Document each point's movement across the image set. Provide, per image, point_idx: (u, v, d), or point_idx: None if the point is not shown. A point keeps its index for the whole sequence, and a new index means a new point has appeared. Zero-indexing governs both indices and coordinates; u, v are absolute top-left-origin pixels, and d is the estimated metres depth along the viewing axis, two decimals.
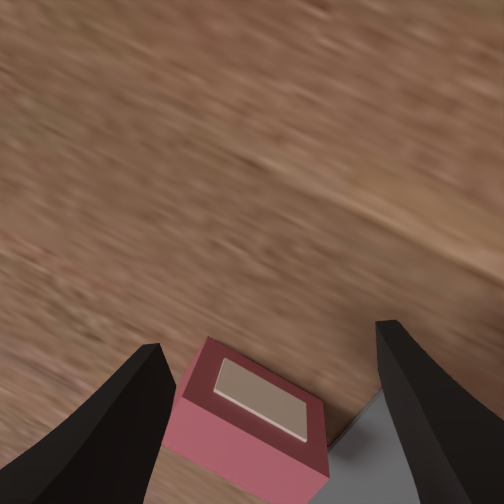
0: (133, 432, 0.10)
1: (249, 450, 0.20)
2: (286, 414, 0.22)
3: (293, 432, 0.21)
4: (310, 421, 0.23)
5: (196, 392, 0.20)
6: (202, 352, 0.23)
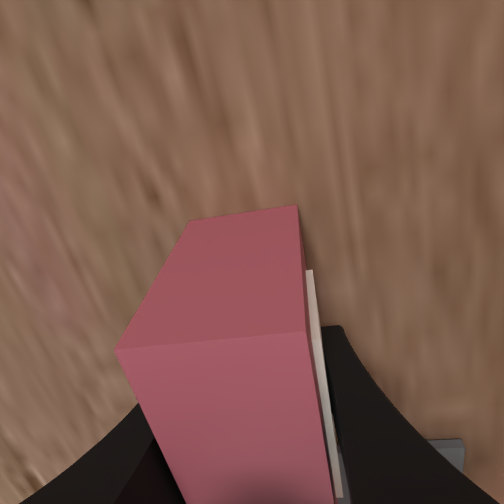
0: None
1: (289, 493, 0.08)
2: (334, 432, 0.11)
3: (338, 476, 0.11)
4: None
5: (308, 331, 0.07)
6: (299, 233, 0.10)
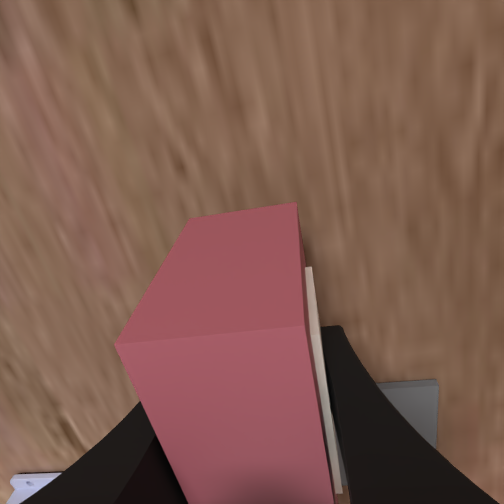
0: None
1: (288, 488, 0.08)
2: None
3: None
4: None
5: (307, 326, 0.07)
6: (298, 230, 0.10)
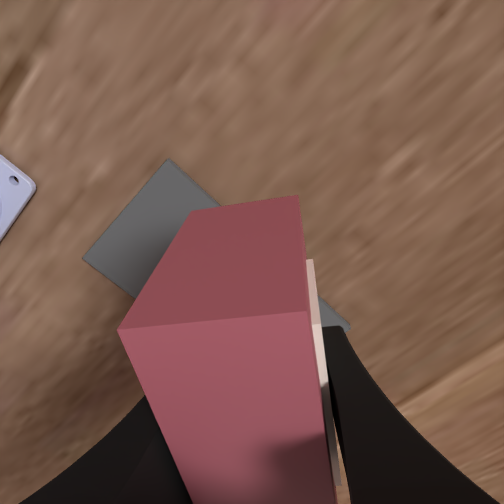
0: None
1: (289, 477, 0.08)
2: (333, 421, 0.11)
3: (336, 464, 0.11)
4: None
5: (309, 314, 0.07)
6: (300, 221, 0.10)
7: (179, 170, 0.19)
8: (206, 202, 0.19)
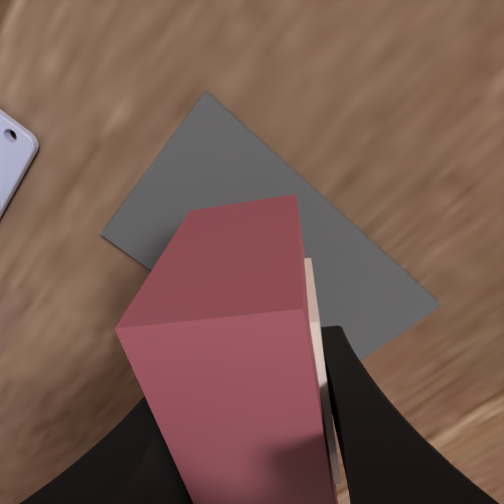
0: None
1: (287, 474, 0.09)
2: None
3: (336, 462, 0.11)
4: None
5: (306, 312, 0.07)
6: (298, 220, 0.10)
7: (221, 106, 0.14)
8: (257, 147, 0.15)
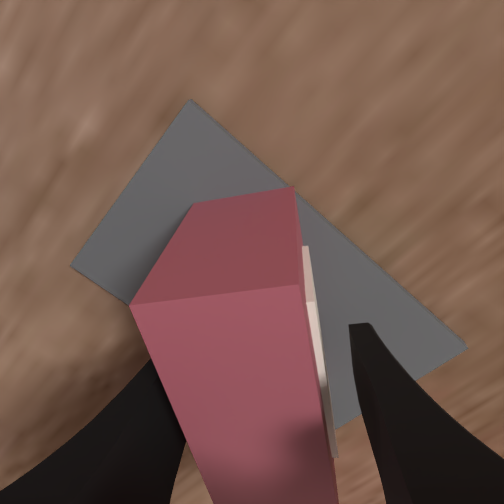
0: (160, 430, 0.10)
1: (287, 443, 0.09)
2: None
3: (333, 436, 0.11)
4: None
5: (302, 290, 0.08)
6: (295, 209, 0.11)
7: (208, 117, 0.12)
8: (252, 167, 0.12)
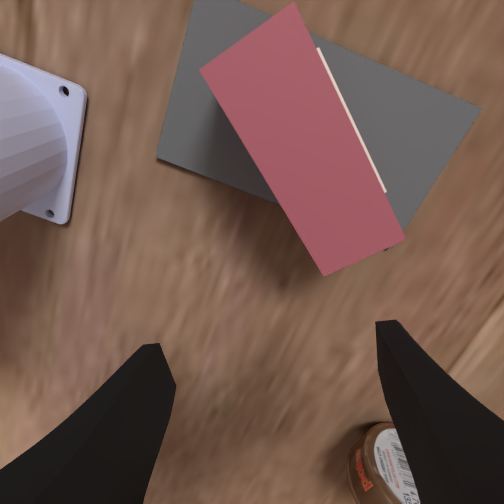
0: (133, 432, 0.10)
1: (333, 152, 0.13)
2: None
3: (376, 173, 0.15)
4: None
5: None
6: None
7: None
8: (257, 16, 0.16)
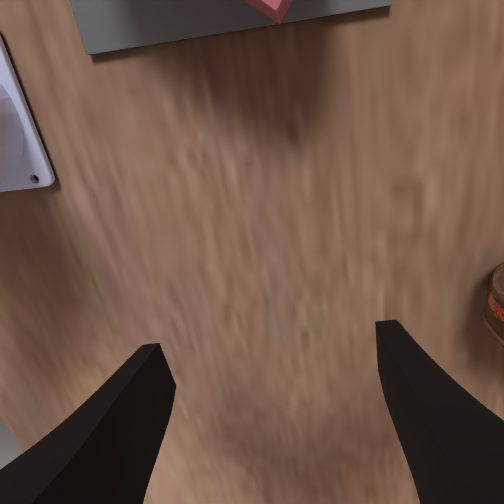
0: (133, 432, 0.10)
1: None
2: None
3: None
4: None
5: None
6: None
7: None
8: None
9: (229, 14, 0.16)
